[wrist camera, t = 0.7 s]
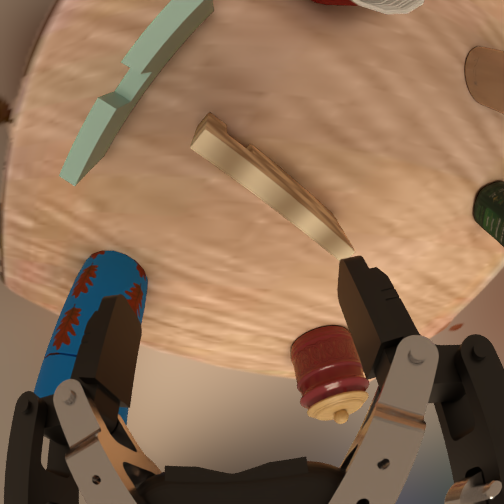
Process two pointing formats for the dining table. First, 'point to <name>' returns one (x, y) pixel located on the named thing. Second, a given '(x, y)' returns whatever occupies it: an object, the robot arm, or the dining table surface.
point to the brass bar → (270, 185)
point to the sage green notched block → (133, 83)
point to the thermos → (89, 313)
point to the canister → (329, 373)
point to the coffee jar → (491, 210)
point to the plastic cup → (379, 5)
